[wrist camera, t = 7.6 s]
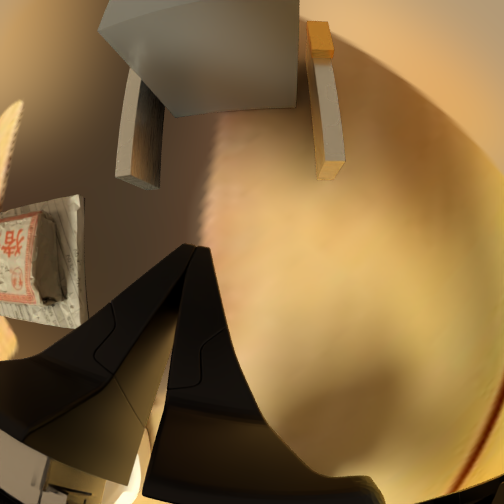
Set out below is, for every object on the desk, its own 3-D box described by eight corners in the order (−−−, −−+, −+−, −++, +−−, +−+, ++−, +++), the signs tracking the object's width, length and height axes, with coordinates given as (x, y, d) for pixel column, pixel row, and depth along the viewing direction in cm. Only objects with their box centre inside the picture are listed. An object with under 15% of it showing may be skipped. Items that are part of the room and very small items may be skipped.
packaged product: (-46, 314, 17) (-50, 217, 17) (-15, 309, 22) (-19, 220, 22) (54, 342, 15) (47, 184, 15) (95, 326, 20) (89, 195, 20)
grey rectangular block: (295, 107, 17) (299, -8, 7) (175, 117, 18) (97, 31, 8) (290, 56, 17) (287, -55, 7) (179, 67, 18) (120, -24, 8)
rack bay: (334, 180, 17) (368, 129, 9) (146, 189, 18) (69, 158, 10) (318, 51, 17) (328, -28, 9) (157, 67, 18) (109, 5, 10)
